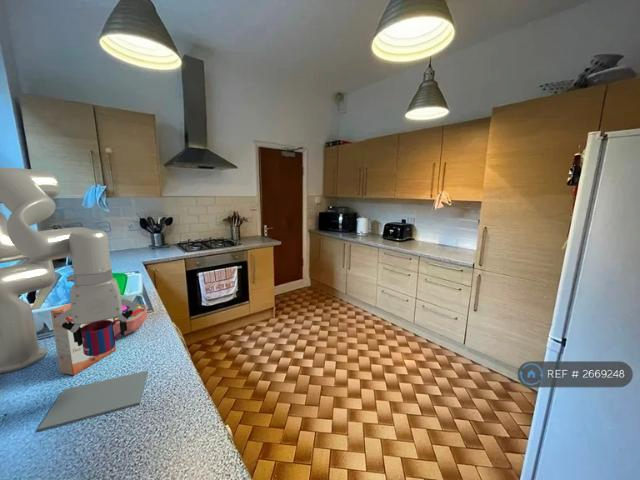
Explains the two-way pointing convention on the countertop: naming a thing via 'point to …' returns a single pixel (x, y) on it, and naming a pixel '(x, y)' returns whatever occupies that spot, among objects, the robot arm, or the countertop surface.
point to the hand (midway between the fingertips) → (102, 338)
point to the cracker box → (71, 346)
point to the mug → (98, 337)
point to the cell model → (132, 319)
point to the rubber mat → (95, 399)
